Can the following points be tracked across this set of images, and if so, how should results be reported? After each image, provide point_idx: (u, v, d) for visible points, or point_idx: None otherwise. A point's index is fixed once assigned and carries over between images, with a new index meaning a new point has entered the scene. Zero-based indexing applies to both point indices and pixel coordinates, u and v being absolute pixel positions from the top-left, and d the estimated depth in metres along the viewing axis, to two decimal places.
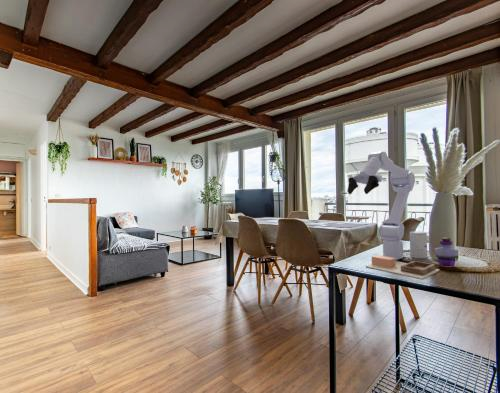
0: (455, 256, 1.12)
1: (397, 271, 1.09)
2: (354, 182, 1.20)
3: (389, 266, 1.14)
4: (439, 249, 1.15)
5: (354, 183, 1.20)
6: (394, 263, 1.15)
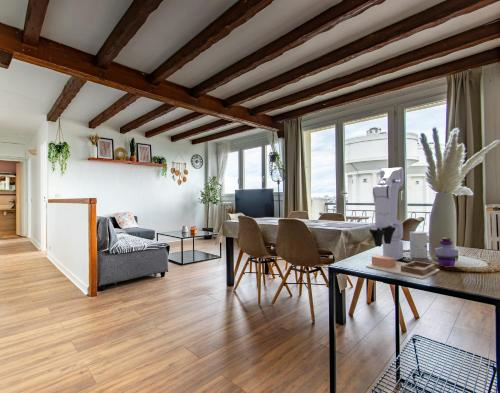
0: (455, 256, 1.12)
1: (397, 271, 1.09)
2: None
3: (389, 266, 1.14)
4: (439, 249, 1.15)
5: None
6: (394, 263, 1.15)
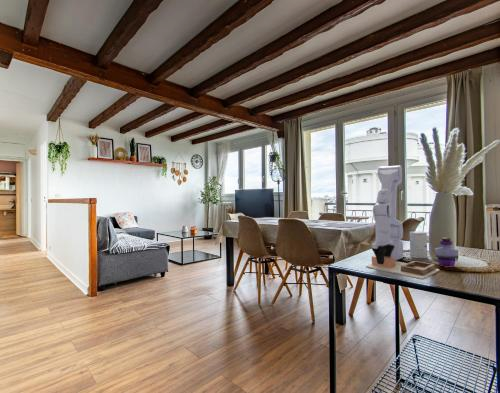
0: (455, 256, 1.12)
1: (397, 271, 1.09)
2: None
3: (389, 266, 1.14)
4: (439, 249, 1.15)
5: None
6: (394, 263, 1.15)
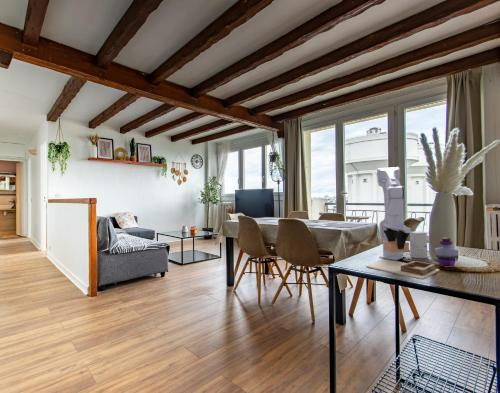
0: (455, 256, 1.12)
1: (397, 271, 1.09)
2: None
3: (408, 249, 1.13)
4: (439, 249, 1.15)
5: None
6: None
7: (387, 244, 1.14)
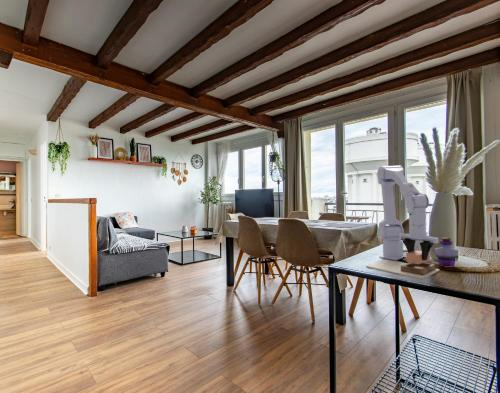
0: (455, 256, 1.12)
1: (397, 271, 1.09)
2: None
3: (429, 259, 1.09)
4: (439, 249, 1.15)
5: None
6: None
7: (411, 255, 1.08)
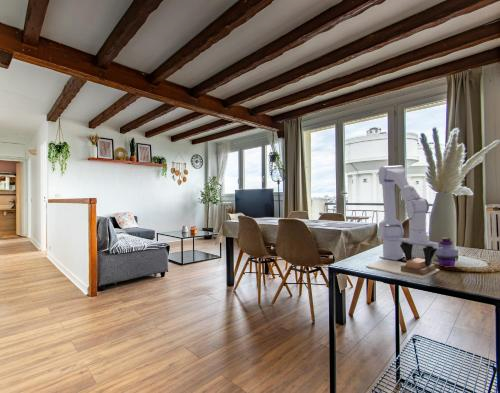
0: (455, 256, 1.12)
1: (397, 271, 1.09)
2: None
3: None
4: (439, 249, 1.15)
5: None
6: None
7: (412, 263, 1.08)
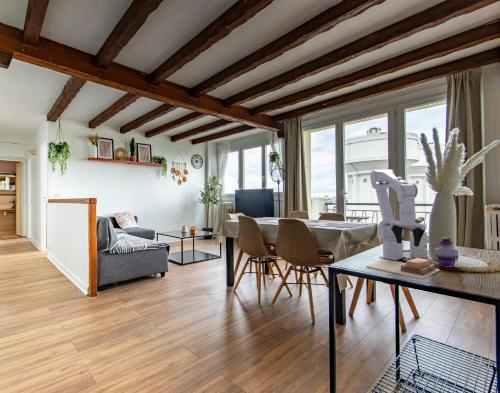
0: (455, 256, 1.12)
1: (397, 271, 1.09)
2: None
3: None
4: (439, 249, 1.15)
5: None
6: None
7: (412, 263, 1.08)
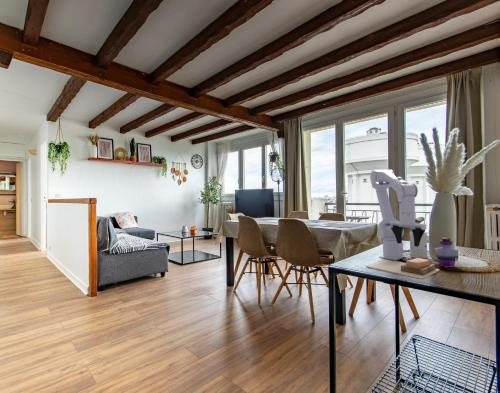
0: (455, 256, 1.12)
1: (397, 271, 1.09)
2: None
3: None
4: (439, 249, 1.15)
5: None
6: None
7: (412, 263, 1.08)
